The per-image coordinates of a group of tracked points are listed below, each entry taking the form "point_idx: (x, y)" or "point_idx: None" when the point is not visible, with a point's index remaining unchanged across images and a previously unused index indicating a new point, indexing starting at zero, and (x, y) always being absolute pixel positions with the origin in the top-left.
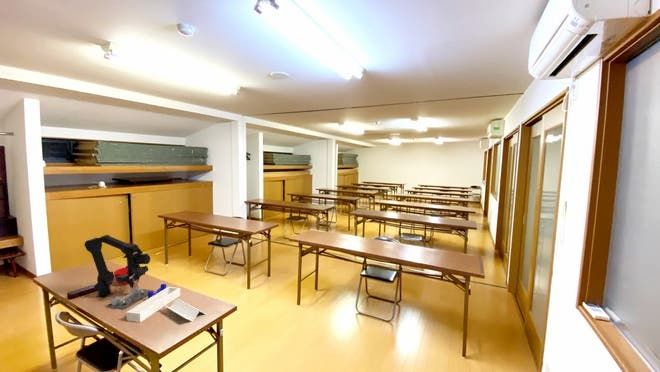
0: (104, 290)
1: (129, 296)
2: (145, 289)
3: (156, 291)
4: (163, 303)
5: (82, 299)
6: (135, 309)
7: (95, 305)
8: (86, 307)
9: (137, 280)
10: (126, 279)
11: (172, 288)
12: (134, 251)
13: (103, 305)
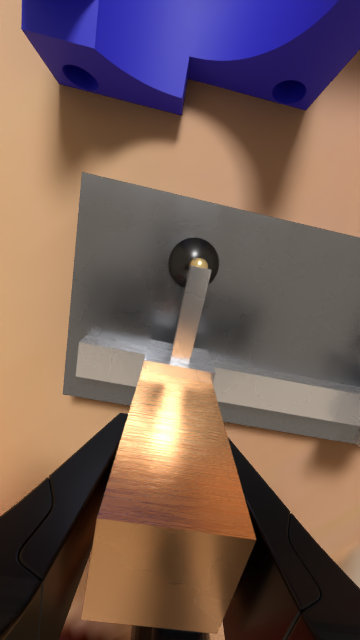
0: (202, 636)
1: (257, 370)
2: (72, 305)
3: (128, 72)
4: None
5: (224, 635)
6: None
7: (319, 530)
8: (338, 559)
9: (114, 484)
10: None
11: None
12: None
13: (330, 484)
